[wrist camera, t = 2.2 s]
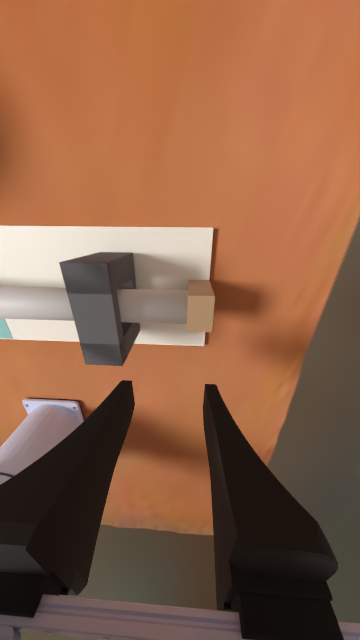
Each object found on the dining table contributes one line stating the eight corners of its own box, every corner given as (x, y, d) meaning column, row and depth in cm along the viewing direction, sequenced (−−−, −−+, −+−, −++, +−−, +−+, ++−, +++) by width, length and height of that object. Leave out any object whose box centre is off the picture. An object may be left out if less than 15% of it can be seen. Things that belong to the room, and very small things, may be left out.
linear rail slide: (203, 344, 22) (207, 377, 17) (-60, 334, 23) (-127, 362, 18) (212, 227, 16) (222, 227, 12) (-129, 224, 18) (-248, 222, 13)
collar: (140, 330, 20) (122, 365, 15) (112, 329, 20) (85, 364, 15) (133, 252, 17) (106, 263, 12) (100, 252, 17) (59, 262, 12)
